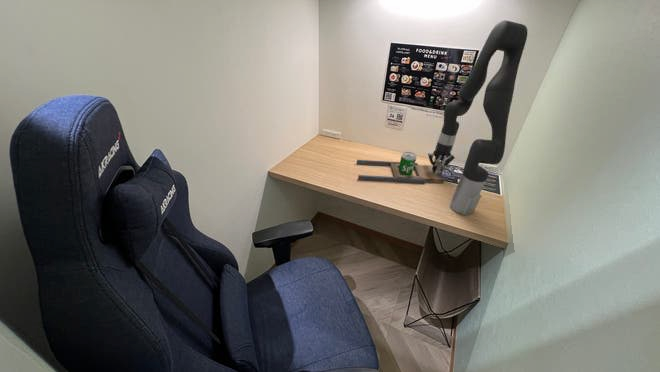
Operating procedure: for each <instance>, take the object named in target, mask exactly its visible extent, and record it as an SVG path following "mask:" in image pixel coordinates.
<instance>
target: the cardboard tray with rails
mask: <svg viewBox="0 0 660 372" xmlns="http://www.w3.org/2000/svg"><path fill="white" fill-rule="evenodd" d="M440 161H441V160H440ZM440 161H439V163H438V164H437V168H436V171H435V172H433V170H432V167H433V165H432V164H430V165H429V164H418V165H414V169H413V171H415V174H416V175H411V176H409V175H400V173H399V170H398V169H399V165H400V164H396V163H391V166H389V167H390V169H391V172H392V173H391V174H392V177H404V178H421V179H425V183H439V184H440V183H441V184H442V183H444V180H445V179H444V177H443V175H442V174H441V171H440V170H441V167H442V163H441V162H440Z"/></svg>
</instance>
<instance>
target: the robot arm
mask: <svg viewBox="0 0 660 372" xmlns="http://www.w3.org/2000/svg"><path fill="white" fill-rule="evenodd" d="M527 38H528V27H527V26H526V25H524V24H522V23H519V22H514V21H511V20H500V21H499V22H498V23H497V24H495V25H494V27H493V28H492V30H491V31H490V33H489V34H488V36H487V39H486V40H485V42H484V44H483V47H482V49H481V51H480V53H479V55H478V57H477V59H476V62H475V64H474V66H473V67H472V69H471V72H470V73H469V74H468V77H467V78H466V80H465V81H464V83H463V84H462V85H461V87H460V89H459V90H458V96H459V98H458V99H457V100H453V101H449V103H448V104H447V105H446V106H445V108H444V111H443V125H442V127H441V131H440V134H439V136H438V139H437V143H436V145H435V150H434V151H433V152H431V153H429V152H428V154H427V155H428V160H429V163H430V165H432V166H433V167H432V170H433V172H435V171H436V168H437V164H438V163H439V161H440V162H441V163H442V167H441V170H440V172H442V170H443V168H444V166H445V167H446V166H448V165H449V164H450V163H451V162H452V161H454V159H455V155H453V154H452V151H453V147H454V145H455V142H456V138H457V134H458V130H459V127H460V122H459V121H457V119H458V117H461V116H464V115H465V114H466V113H468V111H470V108H471V106H472V104H473V102H474V99H475V98H476V96H477V95H478V94H479V92H480V91H481V89H482V88H483V86H484V85H485V83H486V80H487V76H488V69H489V65H490V61H491V59H492V57H493V56H494V55H495V54H496V52H497V51H501V52H503V58H502V61H501V65H500V67H499V69H498V71H497V72H496V73H495V74H494V76H493V77H492V78H491V79H490V81H489V82H488V84H487V85H486V88H485V91H484V97H483V102H482V107H483V111H484V114H485V115H486V117H487V119H488V122H489V124H490V126H491V139H483V138H482V139H481V138H478V139H475V140H474V141H473V142H472V143H471V146H470V148H469V151H468V155H467V158H466V161H465V163H464V166H463V167H464V168H463V171H462V173H461V176H460V178H459V181H458V183H457V186H456V188H455V191H454V194H453V196H452V199H451V202H450V204H449V207H450V209H451V210H452V211H454V212H456V213H457V214H459V215H462V216H464V217H465V216H467V215H470V214H473V213H475V210H476V208H477V206H478V204H479V202H480V200H481V197H482V195H481V192H482V190H483V188H484V186H485V183H486V181H487V180H488V177H489V172H488V171H487V170H486V168H483V167H481V166H480V165H479V164H482V165H483V164H484V165H498V164H500V162H501V161H502V159H503V157H504V154H505V150H506V149H505V148H506V139H507V131H508V129H507V128H508V122H509V116H510V109H511V105H512V102H513V97H514V91H515V85H516V80H517V75H518V71H519V66H520V63H521V59H522V55H523V53H524V49H525V46H526V42H527ZM433 158H434V160H433Z"/></svg>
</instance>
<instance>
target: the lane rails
mask: <svg viewBox="0 0 660 372" xmlns="http://www.w3.org/2000/svg"><path fill="white" fill-rule="evenodd" d="M391 163H396V164H400V161H385V160H383V161H382V160H367V159H356V165H360V166H376V167H377V166H378V167H390V166H391ZM415 165H419V164H418V163H417V162H415ZM357 180H358V181H366V182H382V183H383V182H386V183H404V184H419V185H425V183H426V182H425V179H421V178H404V177H393V176H382V175H365V174H358V177H357Z"/></svg>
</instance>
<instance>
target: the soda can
mask: <svg viewBox="0 0 660 372" xmlns="http://www.w3.org/2000/svg"><path fill="white" fill-rule="evenodd" d="M416 161H417V155H416V153H414V152H412V151H404V152H403V153H401V157H400V161H399V162H400V165H399V169H398V170H399V173H400V175H409V176H413V171H414V165H415V163H416Z"/></svg>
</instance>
